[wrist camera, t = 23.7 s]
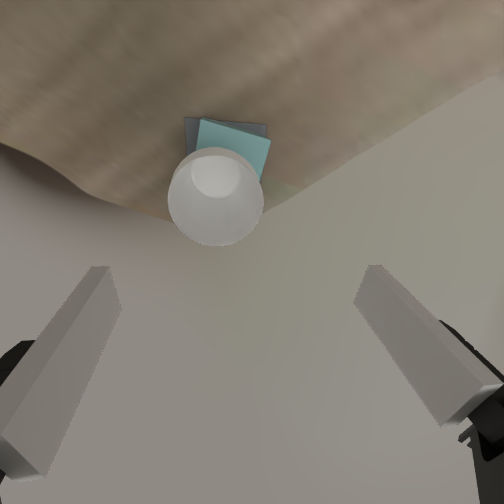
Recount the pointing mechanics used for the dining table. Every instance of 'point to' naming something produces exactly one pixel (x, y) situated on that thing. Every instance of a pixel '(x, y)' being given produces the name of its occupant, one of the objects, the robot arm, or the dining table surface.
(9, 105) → the dining table surface
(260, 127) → the base mat
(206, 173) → the cup
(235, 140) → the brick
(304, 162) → the dining table surface
